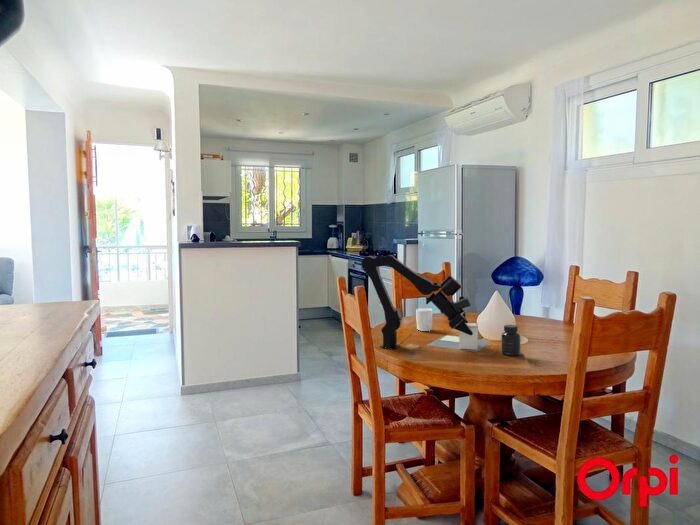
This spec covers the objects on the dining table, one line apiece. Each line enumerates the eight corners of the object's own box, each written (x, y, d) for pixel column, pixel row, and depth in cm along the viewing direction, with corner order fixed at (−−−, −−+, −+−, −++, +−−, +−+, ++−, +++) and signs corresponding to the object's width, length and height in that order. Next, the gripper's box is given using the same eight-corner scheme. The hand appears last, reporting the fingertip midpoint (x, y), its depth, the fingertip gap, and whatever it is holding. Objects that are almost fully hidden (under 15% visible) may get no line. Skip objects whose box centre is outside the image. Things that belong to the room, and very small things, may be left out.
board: (476, 354, 186) (476, 342, 185) (426, 348, 197) (426, 336, 197) (491, 343, 203) (491, 332, 202) (444, 338, 214) (444, 327, 213)
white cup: (413, 331, 228) (413, 310, 227) (419, 328, 235) (419, 307, 234) (429, 332, 224) (429, 311, 224) (434, 329, 231) (434, 308, 231)
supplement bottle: (505, 353, 187) (505, 323, 186) (523, 356, 182) (523, 325, 181) (498, 357, 181) (498, 326, 180) (516, 360, 177) (516, 328, 176)
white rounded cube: (477, 349, 188) (477, 326, 188) (459, 348, 190) (459, 326, 189) (477, 345, 195) (477, 323, 194) (459, 344, 197) (459, 322, 196)
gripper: (457, 293, 183) (487, 323, 181) (459, 287, 201) (486, 314, 199) (436, 313, 185) (466, 343, 183) (439, 305, 203) (466, 332, 201)
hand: (472, 332), depth 192 cm, fingers closed on white rounded cube, 7 cm apart
